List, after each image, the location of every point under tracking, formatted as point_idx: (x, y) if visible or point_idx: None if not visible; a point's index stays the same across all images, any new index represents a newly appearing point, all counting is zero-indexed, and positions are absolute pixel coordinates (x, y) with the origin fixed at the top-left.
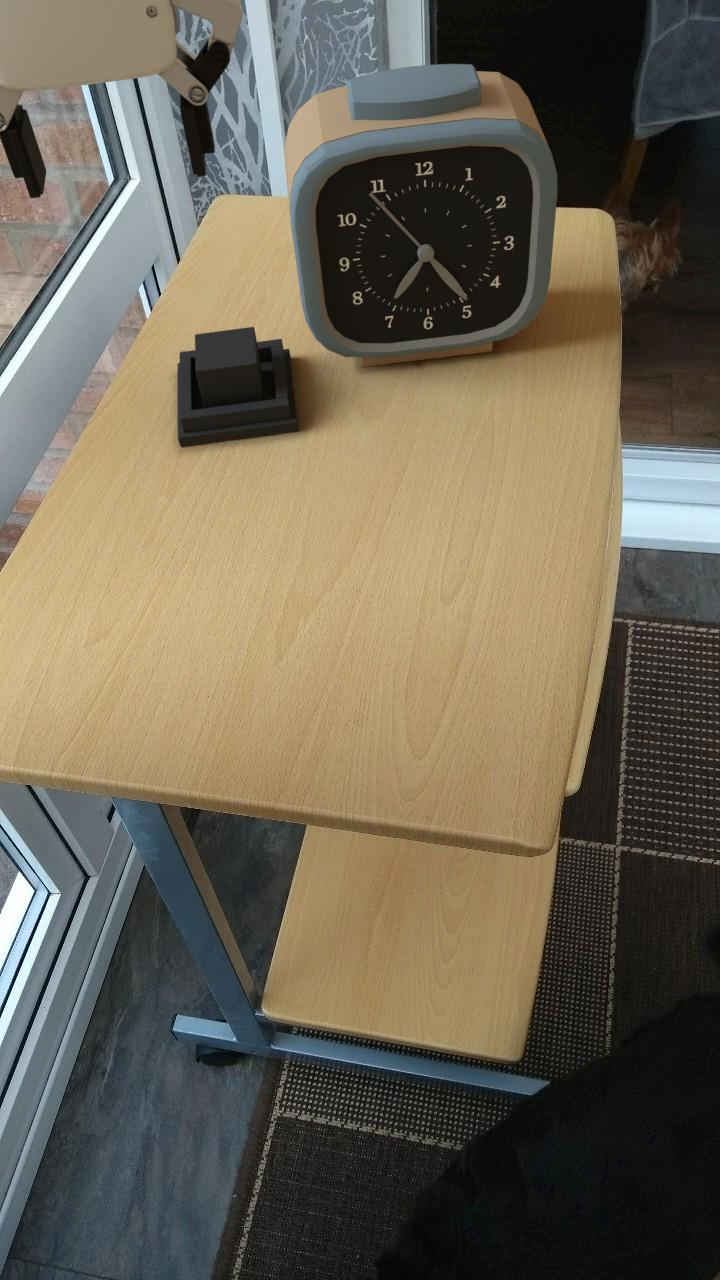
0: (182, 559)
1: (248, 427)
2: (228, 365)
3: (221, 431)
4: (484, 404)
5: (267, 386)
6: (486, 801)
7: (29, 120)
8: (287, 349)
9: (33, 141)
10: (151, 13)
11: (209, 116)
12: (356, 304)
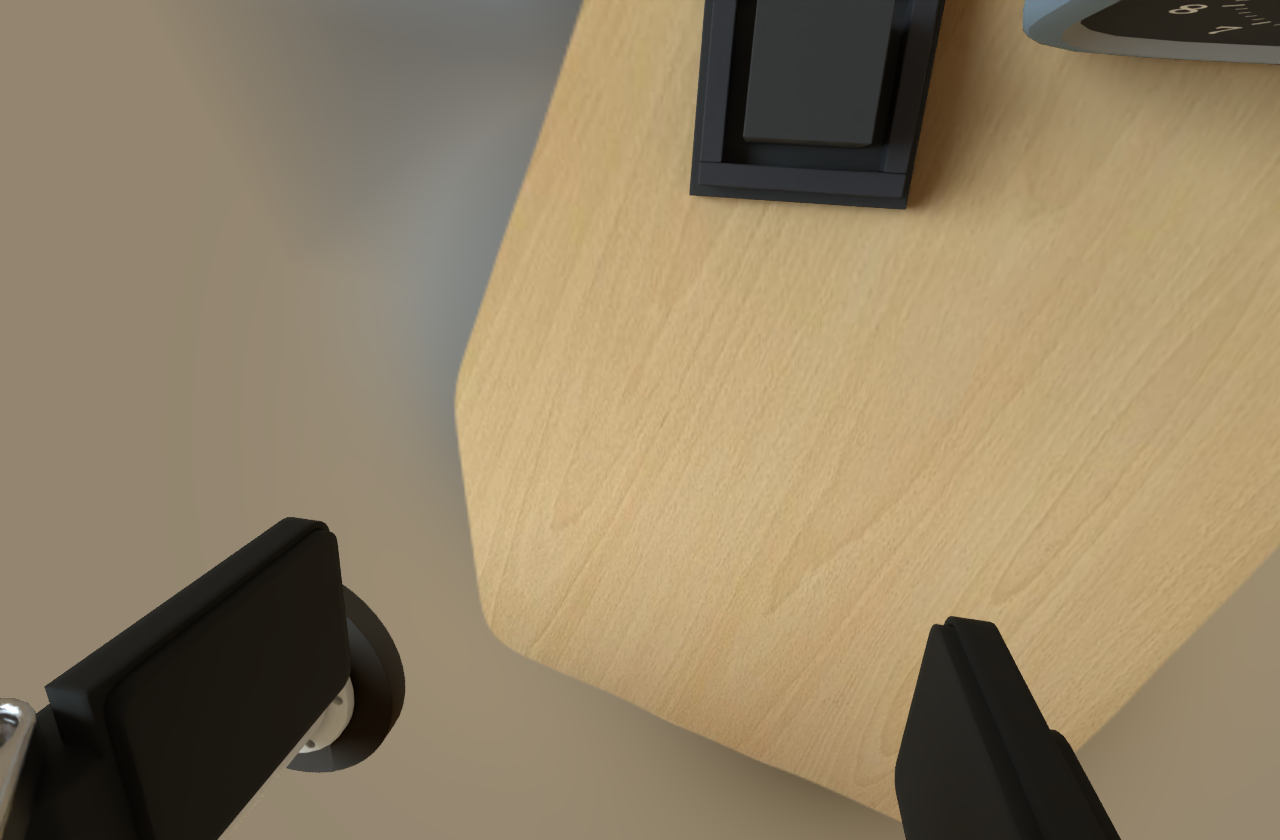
0: (673, 433)
1: (815, 201)
2: (812, 135)
3: (766, 198)
4: (1275, 225)
5: None
6: None
7: (174, 662)
8: None
9: (240, 666)
10: None
11: (1109, 818)
12: (1173, 13)
